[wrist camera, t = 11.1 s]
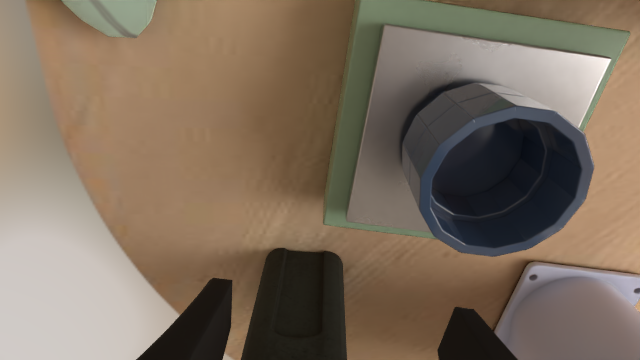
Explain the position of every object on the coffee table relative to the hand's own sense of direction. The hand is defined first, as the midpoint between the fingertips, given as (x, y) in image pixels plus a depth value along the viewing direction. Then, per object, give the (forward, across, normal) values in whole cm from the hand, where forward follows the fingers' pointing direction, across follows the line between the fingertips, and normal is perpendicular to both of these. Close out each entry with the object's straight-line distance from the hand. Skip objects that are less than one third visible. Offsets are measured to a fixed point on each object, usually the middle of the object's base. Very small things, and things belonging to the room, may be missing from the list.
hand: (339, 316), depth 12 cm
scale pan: (+8, -5, -4) cm, 10 cm away
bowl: (+6, -5, -4) cm, 9 cm away
